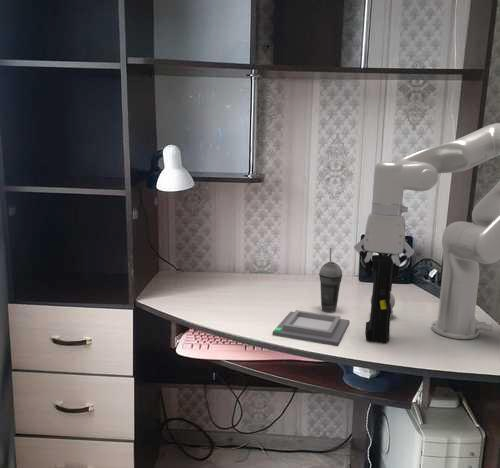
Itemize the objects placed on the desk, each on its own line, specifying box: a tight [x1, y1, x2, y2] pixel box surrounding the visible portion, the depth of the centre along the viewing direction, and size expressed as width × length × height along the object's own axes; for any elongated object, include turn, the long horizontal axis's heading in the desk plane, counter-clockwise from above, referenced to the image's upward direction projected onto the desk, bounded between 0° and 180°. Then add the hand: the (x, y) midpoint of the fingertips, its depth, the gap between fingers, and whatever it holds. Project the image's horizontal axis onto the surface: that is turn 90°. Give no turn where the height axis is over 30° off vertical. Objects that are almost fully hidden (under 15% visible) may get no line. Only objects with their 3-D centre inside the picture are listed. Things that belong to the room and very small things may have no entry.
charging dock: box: [272, 309, 350, 347], centre depth 140 cm, size 18×18×2 cm
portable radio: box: [364, 253, 395, 344], centre depth 132 cm, size 8×6×25 cm
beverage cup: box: [318, 247, 343, 314], centre depth 155 cm, size 7×7×20 cm
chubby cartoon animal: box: [370, 291, 396, 319], centre depth 150 cm, size 7×12×8 cm, turn 154°
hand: (381, 276), depth 131 cm, fingers closed on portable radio, 5 cm apart
